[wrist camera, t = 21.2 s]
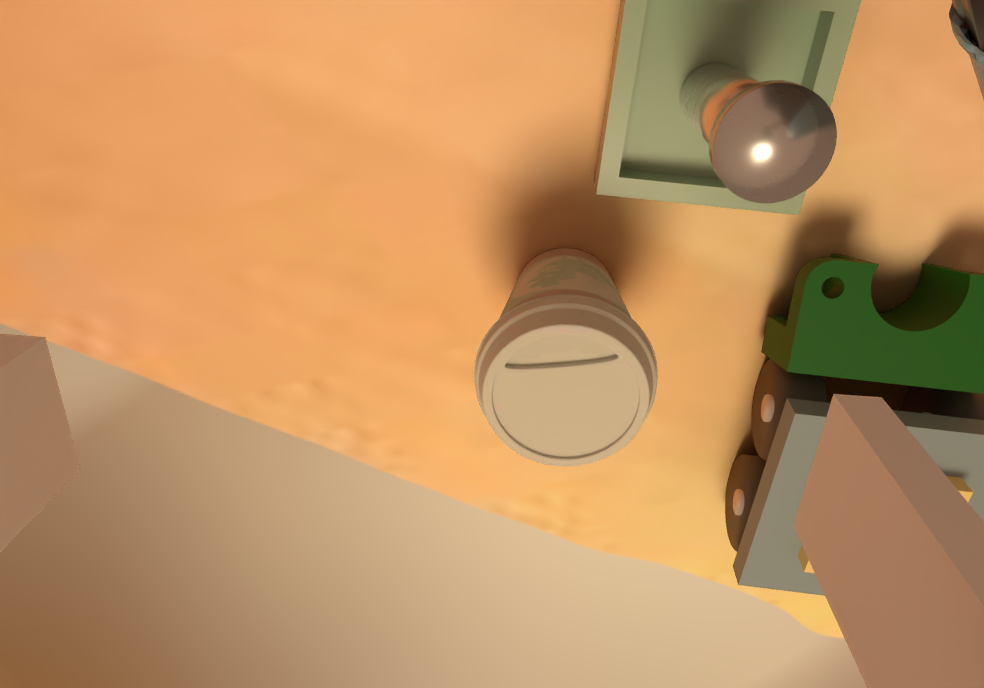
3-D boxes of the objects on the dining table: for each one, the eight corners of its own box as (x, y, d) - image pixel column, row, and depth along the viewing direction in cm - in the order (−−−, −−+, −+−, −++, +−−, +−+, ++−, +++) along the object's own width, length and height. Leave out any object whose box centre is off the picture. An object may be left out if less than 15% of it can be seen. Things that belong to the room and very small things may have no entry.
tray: (625, -32, 34) (630, -32, 32) (844, -12, 34) (864, -11, 32) (594, 182, 39) (596, 194, 37) (785, 201, 39) (798, 215, 36)
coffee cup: (664, 262, 41) (700, 362, 30) (594, 377, 45) (604, 502, 34) (530, 199, 40) (518, 280, 29) (470, 322, 44) (441, 433, 33)
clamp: (906, 256, 44) (1061, 282, 36) (884, 350, 45) (1029, 395, 37) (748, 245, 40) (883, 271, 32) (729, 348, 41) (854, 399, 33)
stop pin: (678, 47, 35) (729, 77, 24) (764, 55, 35) (852, 90, 24) (662, 133, 37) (702, 197, 26) (743, 142, 37) (816, 209, 26)
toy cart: (761, 338, 42) (805, 418, 35) (965, 360, 42) (1056, 446, 34) (712, 506, 48) (740, 607, 41) (890, 528, 48) (953, 633, 40)
